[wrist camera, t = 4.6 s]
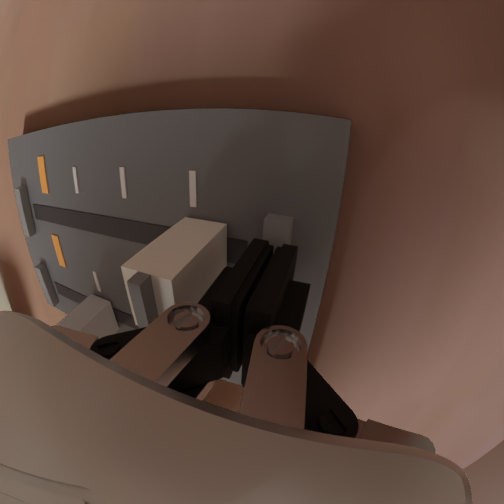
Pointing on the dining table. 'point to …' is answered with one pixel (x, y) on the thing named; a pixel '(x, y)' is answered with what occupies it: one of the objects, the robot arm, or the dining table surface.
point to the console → (176, 194)
